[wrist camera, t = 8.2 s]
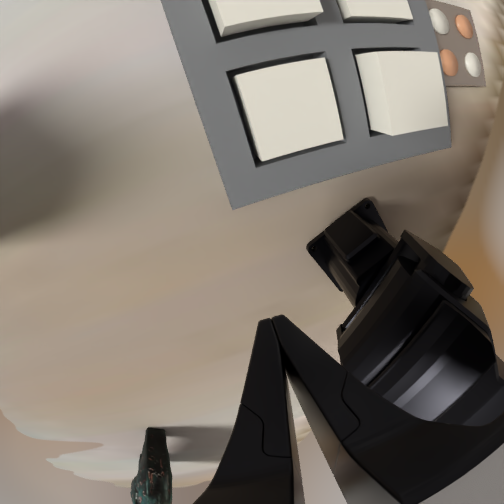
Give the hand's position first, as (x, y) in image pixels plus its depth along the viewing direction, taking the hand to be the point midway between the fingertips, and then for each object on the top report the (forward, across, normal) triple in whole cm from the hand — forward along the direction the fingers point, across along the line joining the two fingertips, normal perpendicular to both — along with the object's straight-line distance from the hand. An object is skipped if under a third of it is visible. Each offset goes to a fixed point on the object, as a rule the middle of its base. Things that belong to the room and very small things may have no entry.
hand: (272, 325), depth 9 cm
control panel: (+12, -8, -10) cm, 17 cm away
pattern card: (+12, -21, -11) cm, 27 cm away
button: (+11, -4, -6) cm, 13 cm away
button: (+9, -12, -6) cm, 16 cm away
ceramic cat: (+12, +25, +37) cm, 46 cm away
